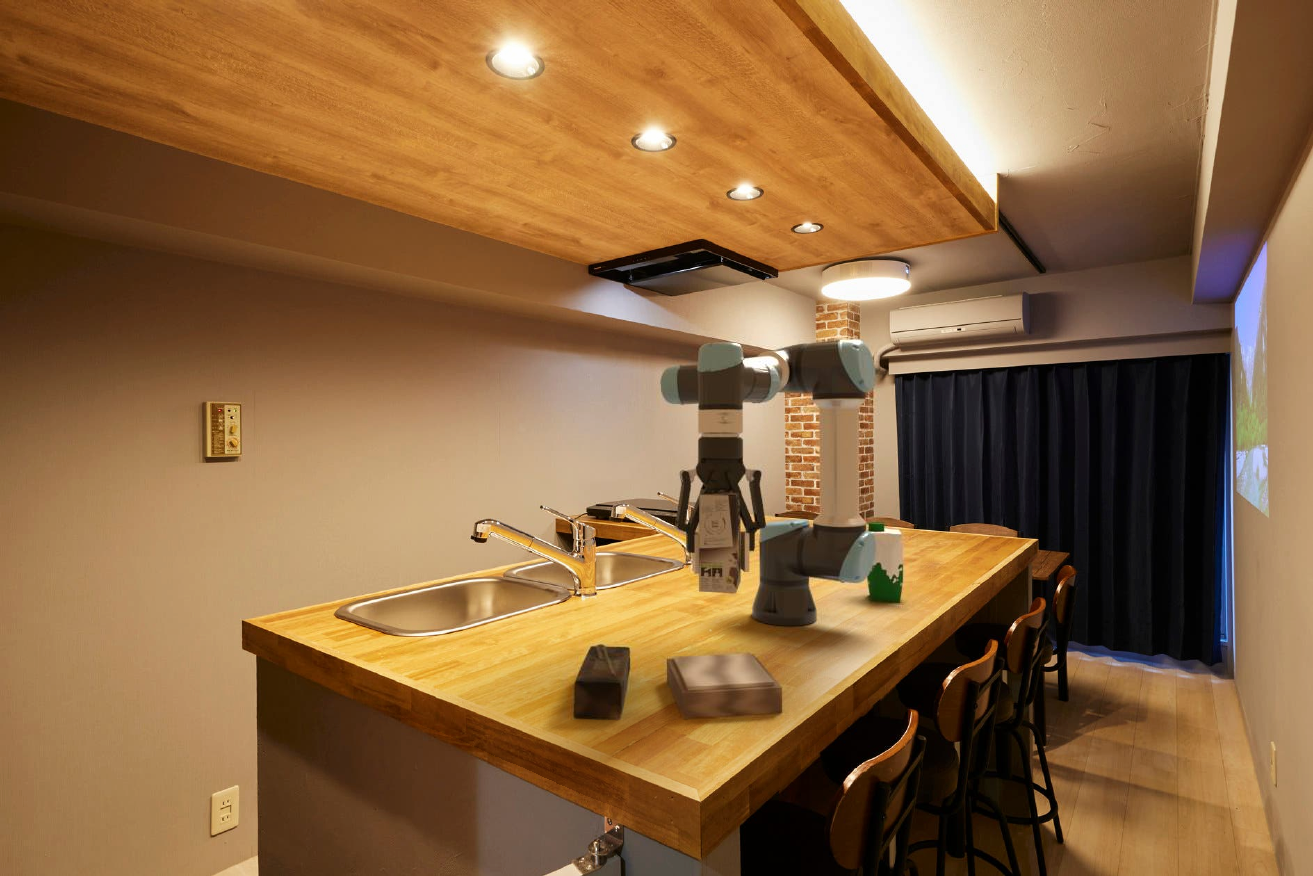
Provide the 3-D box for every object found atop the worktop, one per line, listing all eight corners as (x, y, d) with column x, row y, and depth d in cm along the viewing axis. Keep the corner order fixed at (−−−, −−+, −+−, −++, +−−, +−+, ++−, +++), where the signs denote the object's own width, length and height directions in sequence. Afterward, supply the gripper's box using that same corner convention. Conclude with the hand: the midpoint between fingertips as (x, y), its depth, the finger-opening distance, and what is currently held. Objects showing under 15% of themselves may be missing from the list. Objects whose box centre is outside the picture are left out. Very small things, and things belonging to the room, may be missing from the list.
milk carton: (865, 593, 184) (865, 520, 184) (900, 595, 182) (901, 521, 182) (868, 601, 176) (868, 525, 175) (904, 603, 173) (905, 526, 173)
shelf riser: (753, 676, 123) (753, 651, 123) (782, 712, 107) (782, 683, 107) (666, 681, 121) (666, 655, 121) (682, 719, 105) (682, 689, 105)
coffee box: (737, 594, 109) (737, 494, 109) (697, 592, 110) (697, 493, 110) (742, 581, 118) (742, 489, 118) (705, 580, 119) (705, 488, 119)
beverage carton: (631, 677, 124) (631, 642, 123) (622, 722, 105) (622, 681, 105) (589, 676, 124) (589, 641, 124) (572, 721, 105) (572, 680, 105)
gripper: (663, 436, 108) (663, 578, 109) (786, 435, 111) (786, 574, 112) (656, 435, 116) (656, 568, 116) (772, 435, 119) (772, 565, 119)
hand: (720, 571), depth 114 cm, fingers closed on coffee box, 8 cm apart
